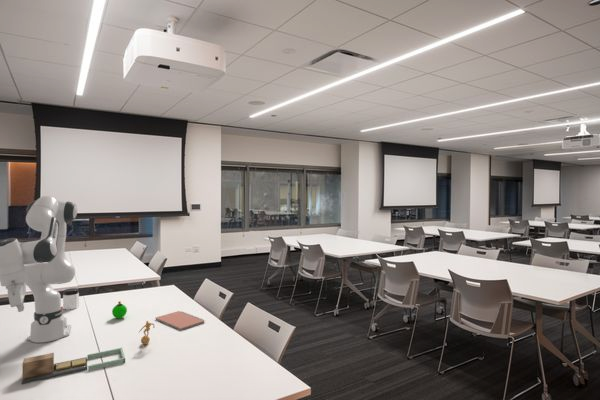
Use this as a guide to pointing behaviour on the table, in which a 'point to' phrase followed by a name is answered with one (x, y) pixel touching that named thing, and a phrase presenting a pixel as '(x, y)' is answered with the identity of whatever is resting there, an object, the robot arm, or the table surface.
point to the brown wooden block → (38, 365)
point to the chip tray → (108, 363)
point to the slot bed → (56, 373)
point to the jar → (71, 299)
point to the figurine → (145, 338)
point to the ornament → (119, 310)
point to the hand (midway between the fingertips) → (21, 310)
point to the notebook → (180, 320)
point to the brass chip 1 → (63, 366)
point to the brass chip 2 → (78, 362)
